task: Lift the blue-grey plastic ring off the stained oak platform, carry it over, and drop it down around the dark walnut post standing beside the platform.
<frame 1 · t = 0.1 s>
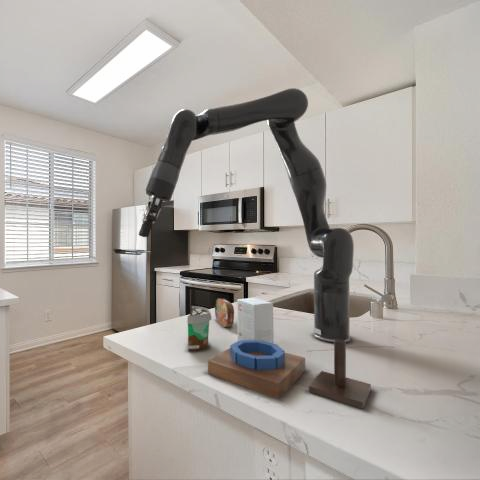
hand: (142, 236, 82), 31 cm above the countertop, tool tilted 20°, fingers open, 8 cm apart
food container: (200, 346, 85), on the countertop
platform: (257, 372, 68), on the countertop
small box: (255, 348, 83), on the countertop
ring stand: (340, 390, 60), on the countertop
ring: (256, 359, 68), point 3 cm above the countertop, touching platform
mottled orange brown slab: (224, 324, 106), on the countertop
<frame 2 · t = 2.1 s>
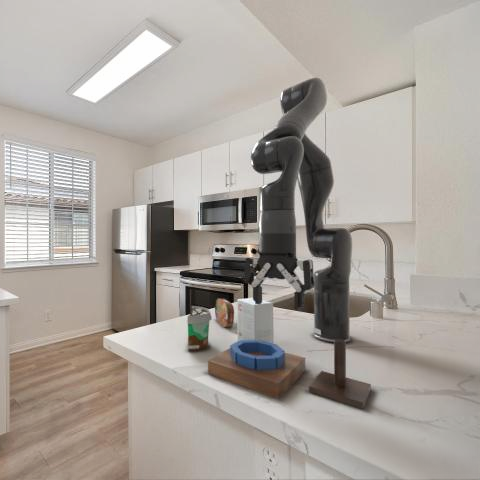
hand: (277, 306, 65), 16 cm above the countertop, tool pointing down, fingers open, 8 cm apart
nothing on the countertop moved.
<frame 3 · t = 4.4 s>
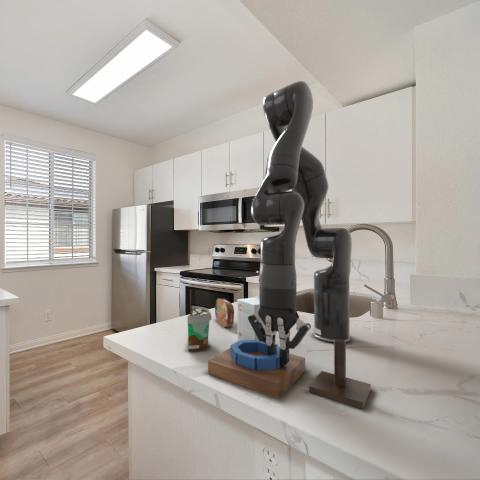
hand: (277, 363, 65), 3 cm above the countertop, tool pointing down, fingers closed on ring, 1 cm apart
ring: (257, 359, 68), point 3 cm above the countertop, touching gripper
everything else where it was.
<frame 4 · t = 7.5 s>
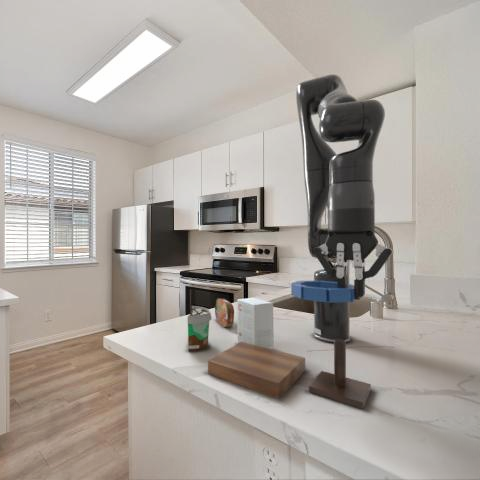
hand: (350, 297, 57), 19 cm above the countertop, tool pointing down, fingers closed on ring, 1 cm apart
ring: (323, 296, 61), point 19 cm above the countertop, touching gripper
everything else where it was.
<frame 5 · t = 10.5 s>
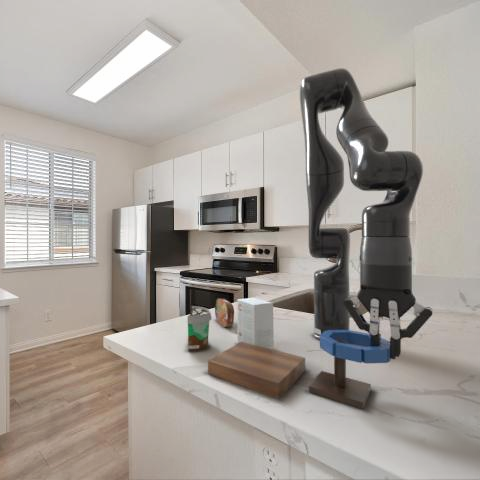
hand: (385, 355, 55), 9 cm above the countertop, tool pointing down, fingers closed on ring
ring: (354, 351, 58), point 9 cm above the countertop, touching gripper
everything else where it was.
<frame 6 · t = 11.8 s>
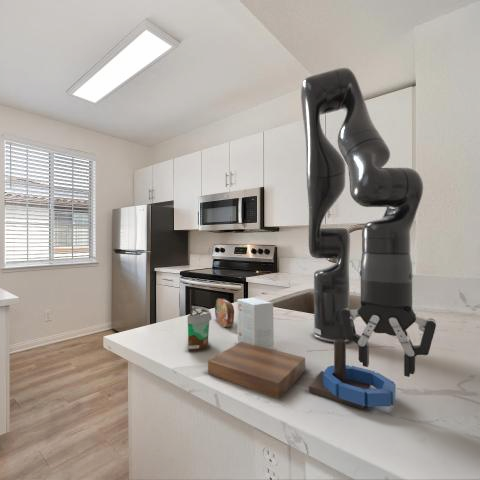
hand: (385, 369, 55), 6 cm above the countertop, tool pointing down, fingers open, 5 cm apart
ring: (357, 390, 58), point 1 cm above the countertop, touching ring stand
everything else where it was.
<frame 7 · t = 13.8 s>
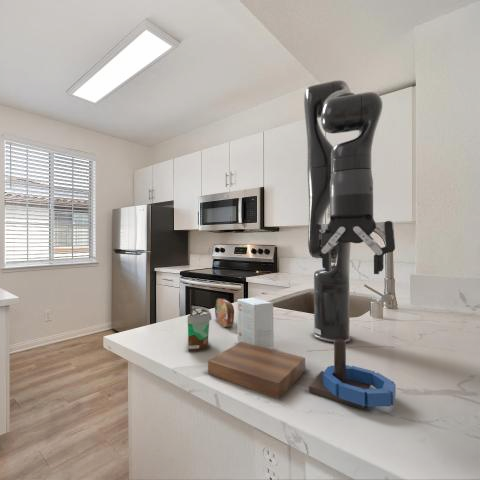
hand: (351, 272, 62), 23 cm above the countertop, tool pointing down, fingers open, 8 cm apart
nothing on the countertop moved.
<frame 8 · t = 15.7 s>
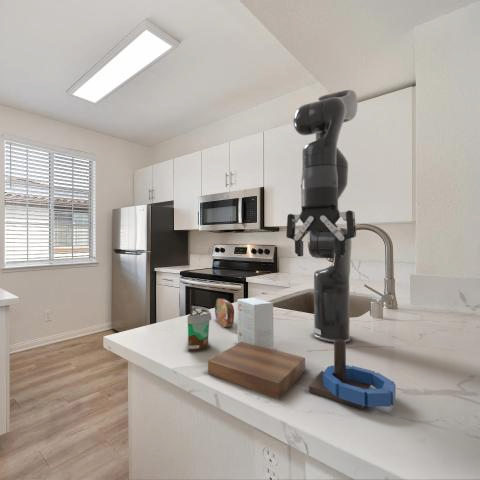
hand: (319, 256, 70), 26 cm above the countertop, tool pointing down, fingers open, 8 cm apart
nothing on the countertop moved.
at the end: ring touching ring stand; ring inside the target area on the ring stand (2.5 cm from its centre), point 1.2 cm above the ring stand's base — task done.
